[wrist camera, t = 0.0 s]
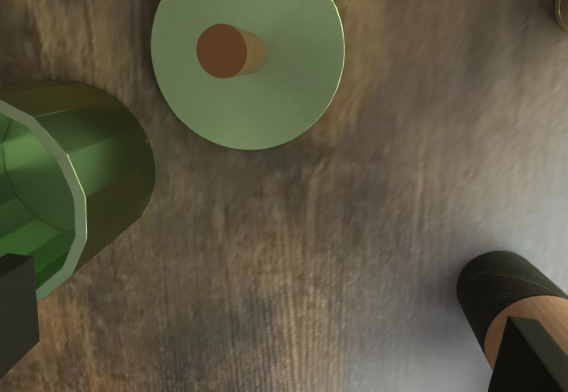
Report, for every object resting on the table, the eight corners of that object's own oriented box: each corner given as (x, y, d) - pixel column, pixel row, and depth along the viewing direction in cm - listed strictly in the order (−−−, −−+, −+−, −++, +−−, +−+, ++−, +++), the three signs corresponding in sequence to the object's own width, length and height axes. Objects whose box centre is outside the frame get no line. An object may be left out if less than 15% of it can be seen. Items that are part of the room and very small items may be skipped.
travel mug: (461, 243, 41) (581, 404, 22) (549, 252, 40) (753, 424, 21) (446, 319, 43) (543, 526, 24) (530, 328, 43) (698, 546, 23)
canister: (-8, 73, 40) (-150, 78, 28) (156, 90, 39) (82, 103, 27) (5, 229, 44) (-112, 292, 32) (154, 247, 43) (89, 318, 32)
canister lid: (156, -60, 36) (94, -105, 26) (356, -43, 35) (369, -83, 25) (154, 137, 40) (100, 162, 31) (331, 157, 40) (333, 188, 30)
